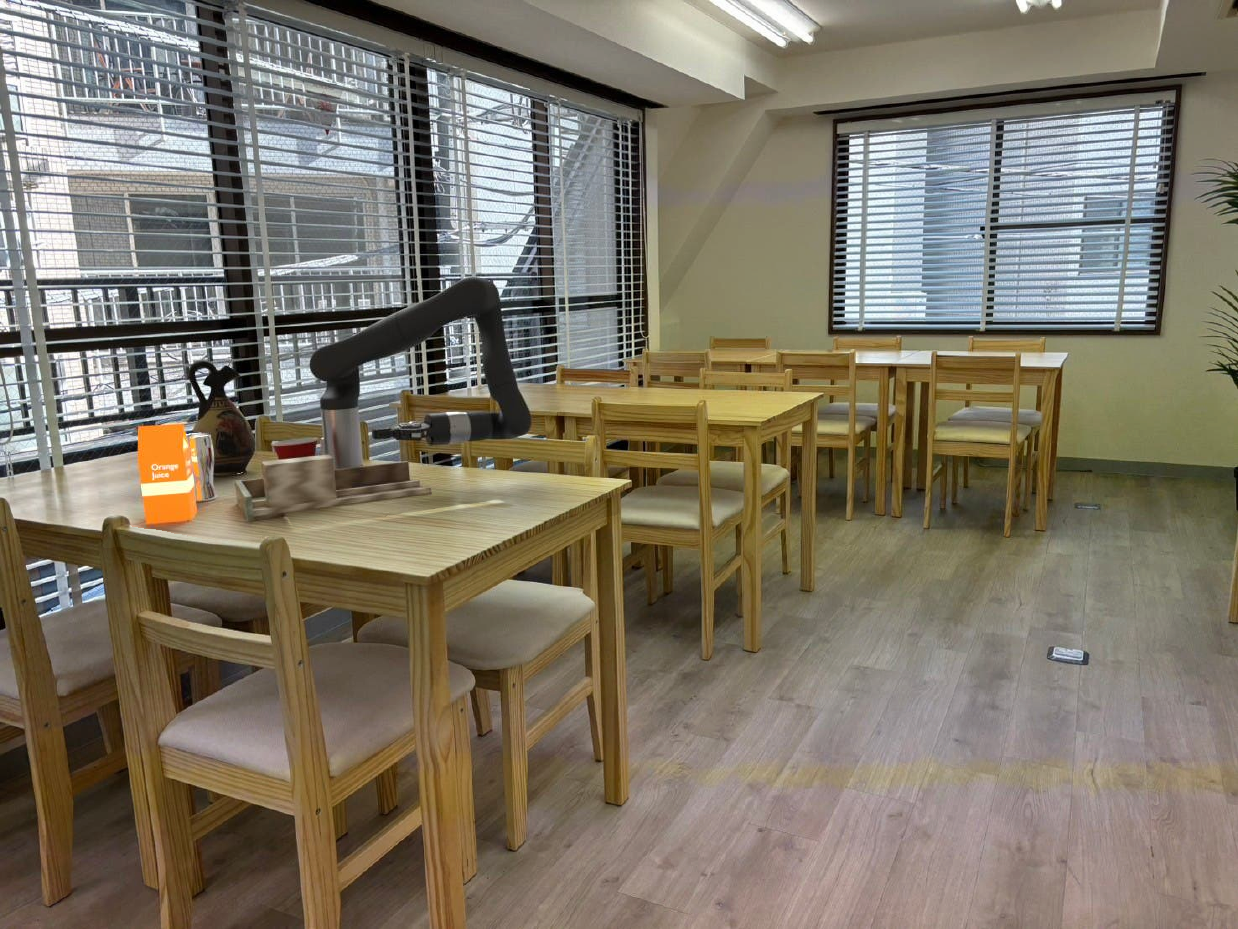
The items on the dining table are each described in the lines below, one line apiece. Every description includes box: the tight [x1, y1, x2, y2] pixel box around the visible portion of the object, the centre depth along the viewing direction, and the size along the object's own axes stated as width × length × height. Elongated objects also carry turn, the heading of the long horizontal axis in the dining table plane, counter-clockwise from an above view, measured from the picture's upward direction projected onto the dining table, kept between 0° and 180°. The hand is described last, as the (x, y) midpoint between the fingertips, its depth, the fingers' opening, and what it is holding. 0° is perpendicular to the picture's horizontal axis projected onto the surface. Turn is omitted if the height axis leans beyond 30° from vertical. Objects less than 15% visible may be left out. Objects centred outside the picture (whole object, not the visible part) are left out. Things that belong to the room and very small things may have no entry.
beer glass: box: [186, 433, 218, 503], centre depth 209 cm, size 7×7×15 cm
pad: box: [252, 497, 266, 501], centre depth 203 cm, size 8×7×1 cm
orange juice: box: [136, 423, 198, 525], centre depth 192 cm, size 8×9×20 cm
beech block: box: [261, 455, 337, 508], centre depth 198 cm, size 14×5×10 cm, turn 119°
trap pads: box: [352, 482, 389, 488], centre depth 211 cm, size 20×7×1 cm, turn 118°
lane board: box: [234, 460, 432, 522], centre depth 206 cm, size 39×19×5 cm, turn 118°
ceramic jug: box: [187, 360, 256, 477], centre depth 238 cm, size 17×15×30 cm
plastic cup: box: [270, 437, 319, 460], centre depth 219 cm, size 11×11×12 cm
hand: (372, 434), depth 204 cm, fingers closed
